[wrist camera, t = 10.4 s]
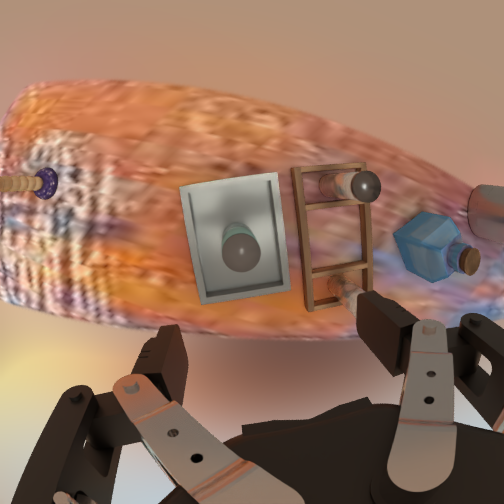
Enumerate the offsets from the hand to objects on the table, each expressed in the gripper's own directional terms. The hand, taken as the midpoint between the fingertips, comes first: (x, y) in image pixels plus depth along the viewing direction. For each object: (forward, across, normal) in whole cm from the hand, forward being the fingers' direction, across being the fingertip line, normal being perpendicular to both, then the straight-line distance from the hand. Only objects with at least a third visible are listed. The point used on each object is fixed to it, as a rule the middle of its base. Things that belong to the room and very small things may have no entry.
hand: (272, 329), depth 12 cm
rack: (+22, -11, +2) cm, 25 cm away
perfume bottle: (+22, -24, +4) cm, 33 cm away
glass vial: (+22, -11, -5) cm, 25 cm away
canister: (+22, -11, +8) cm, 26 cm away
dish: (+22, +1, 0) cm, 22 cm away
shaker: (+21, 0, 0) cm, 21 cm away
